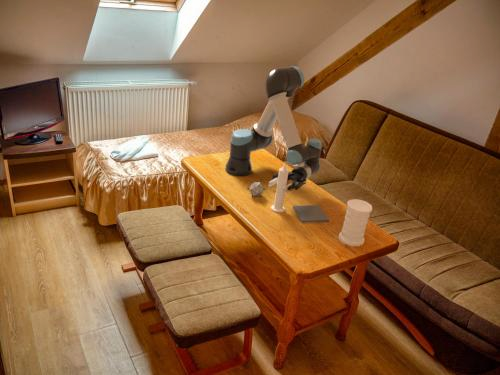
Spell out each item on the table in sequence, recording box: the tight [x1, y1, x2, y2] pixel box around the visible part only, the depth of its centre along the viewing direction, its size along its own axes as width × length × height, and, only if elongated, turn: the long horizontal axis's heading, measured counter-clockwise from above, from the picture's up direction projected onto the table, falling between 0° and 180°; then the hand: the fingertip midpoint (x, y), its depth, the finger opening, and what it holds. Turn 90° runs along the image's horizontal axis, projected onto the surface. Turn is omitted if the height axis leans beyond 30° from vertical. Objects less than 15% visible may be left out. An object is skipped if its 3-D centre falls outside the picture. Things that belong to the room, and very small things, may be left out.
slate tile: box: [292, 204, 330, 224], centre depth 216 cm, size 14×14×1 cm
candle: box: [270, 163, 290, 214], centre depth 212 cm, size 7×7×25 cm
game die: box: [247, 180, 266, 198], centre depth 225 cm, size 9×8×10 cm
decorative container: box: [338, 198, 373, 247], centre depth 196 cm, size 12×12×18 cm
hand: (276, 187), depth 207 cm, fingers open, 7 cm apart
